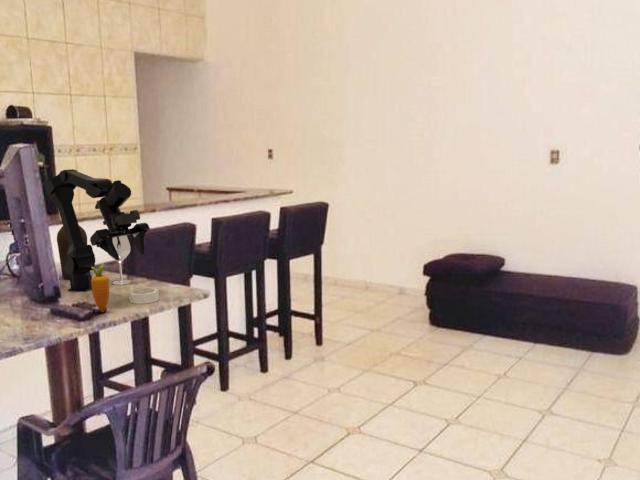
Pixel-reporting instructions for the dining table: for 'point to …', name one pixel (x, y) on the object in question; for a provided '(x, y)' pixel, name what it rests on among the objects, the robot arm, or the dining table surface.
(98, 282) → the carrot
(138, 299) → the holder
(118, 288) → the dining table surface
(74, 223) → the robot arm
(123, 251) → the wineglass
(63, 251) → the olive oil
